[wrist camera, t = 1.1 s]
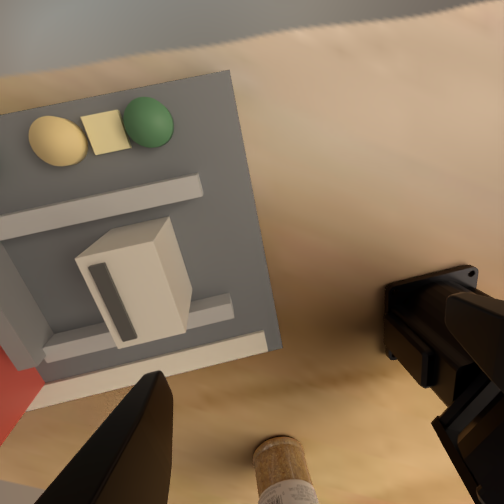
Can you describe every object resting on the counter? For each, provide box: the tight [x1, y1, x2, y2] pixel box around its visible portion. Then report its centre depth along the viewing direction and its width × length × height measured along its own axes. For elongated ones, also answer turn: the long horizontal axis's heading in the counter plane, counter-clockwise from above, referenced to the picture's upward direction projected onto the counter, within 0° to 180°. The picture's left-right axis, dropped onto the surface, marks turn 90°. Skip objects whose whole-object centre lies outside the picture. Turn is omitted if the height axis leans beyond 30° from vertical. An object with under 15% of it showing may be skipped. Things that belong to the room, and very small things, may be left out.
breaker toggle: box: [75, 216, 192, 349], centre depth 13 cm, size 3×4×4 cm
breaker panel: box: [0, 70, 283, 412], centre depth 14 cm, size 20×16×3 cm
